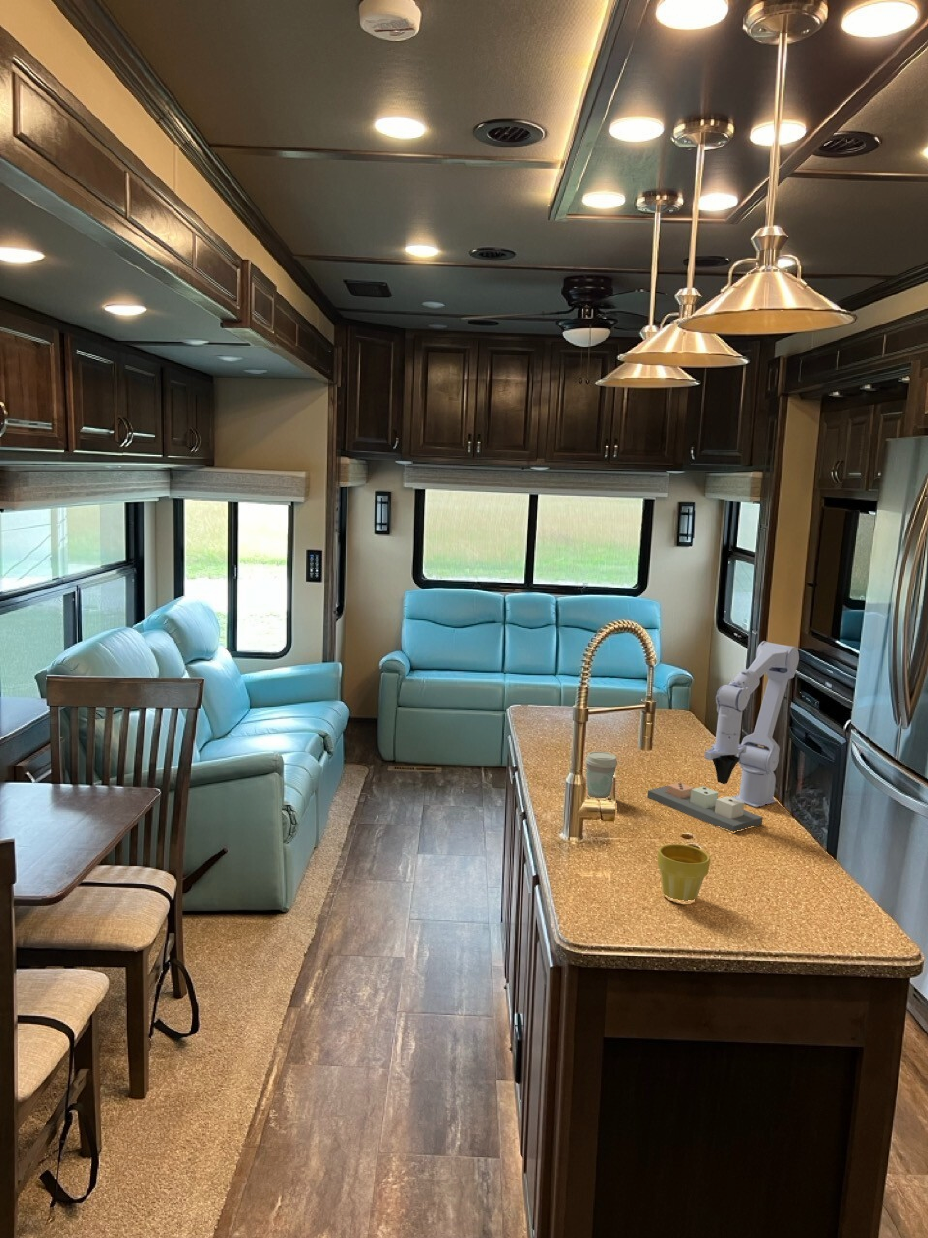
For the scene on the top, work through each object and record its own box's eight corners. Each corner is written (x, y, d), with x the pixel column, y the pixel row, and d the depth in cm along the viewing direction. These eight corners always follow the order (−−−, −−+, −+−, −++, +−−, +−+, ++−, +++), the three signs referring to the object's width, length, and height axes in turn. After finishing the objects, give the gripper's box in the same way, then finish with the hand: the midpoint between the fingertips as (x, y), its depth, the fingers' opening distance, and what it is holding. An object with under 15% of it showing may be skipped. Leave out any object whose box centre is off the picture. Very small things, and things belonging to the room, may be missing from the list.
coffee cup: (577, 799, 241) (581, 756, 239) (588, 790, 249) (592, 748, 247) (607, 806, 237) (612, 763, 235) (618, 797, 245) (622, 754, 243)
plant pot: (668, 881, 195) (672, 838, 193) (713, 898, 189) (718, 854, 187) (645, 897, 187) (649, 852, 185) (691, 915, 181) (696, 869, 179)
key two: (701, 800, 242) (703, 785, 242) (717, 806, 238) (718, 791, 238) (689, 803, 239) (691, 788, 239) (705, 810, 235) (706, 794, 235)
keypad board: (676, 790, 254) (676, 783, 253) (761, 824, 232) (762, 817, 231) (647, 797, 246) (648, 790, 246) (733, 833, 224) (734, 826, 224)
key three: (677, 796, 249) (679, 781, 248) (692, 802, 245) (693, 787, 244) (665, 799, 246) (667, 784, 245) (680, 805, 242) (681, 790, 241)
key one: (726, 810, 236) (728, 795, 235) (742, 817, 232) (744, 801, 231) (714, 814, 233) (716, 798, 232) (730, 820, 229) (732, 804, 228)
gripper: (733, 724, 239) (727, 773, 241) (697, 731, 230) (691, 781, 232) (755, 731, 233) (749, 782, 235) (719, 738, 225) (713, 790, 227)
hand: (722, 782), depth 234 cm, fingers closed
